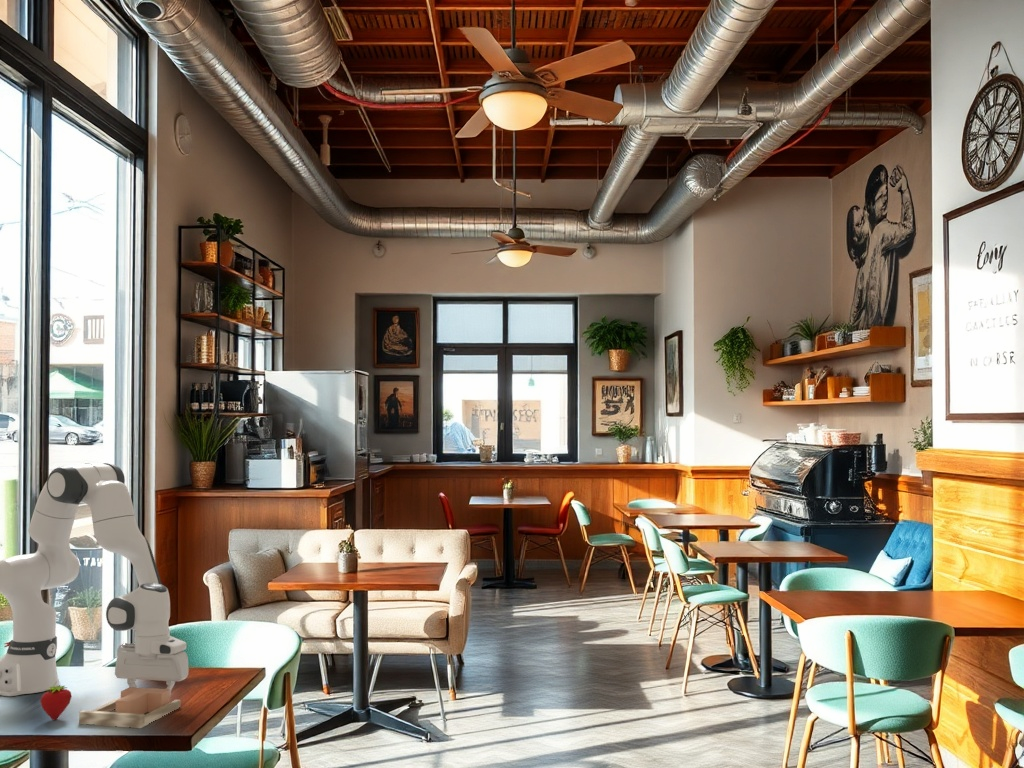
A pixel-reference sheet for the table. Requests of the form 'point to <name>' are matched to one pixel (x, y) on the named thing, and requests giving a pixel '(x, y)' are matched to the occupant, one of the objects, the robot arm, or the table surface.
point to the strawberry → (55, 701)
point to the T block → (142, 700)
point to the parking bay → (124, 715)
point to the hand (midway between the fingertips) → (150, 695)
